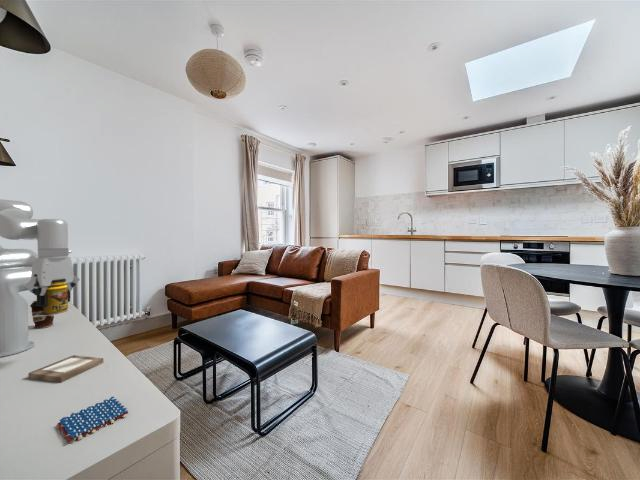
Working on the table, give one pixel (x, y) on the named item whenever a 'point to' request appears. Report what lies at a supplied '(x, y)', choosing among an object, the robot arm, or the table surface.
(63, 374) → the picture frame
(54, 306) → the condiment
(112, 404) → the woven mat
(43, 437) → the table surface
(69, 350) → the table surface
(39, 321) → the coffee cup
